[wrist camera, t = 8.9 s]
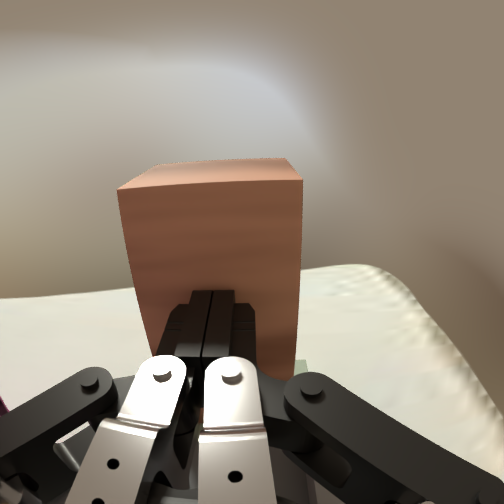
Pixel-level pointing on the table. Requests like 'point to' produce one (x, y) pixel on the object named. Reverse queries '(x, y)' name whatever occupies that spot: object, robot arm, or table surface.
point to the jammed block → (219, 245)
